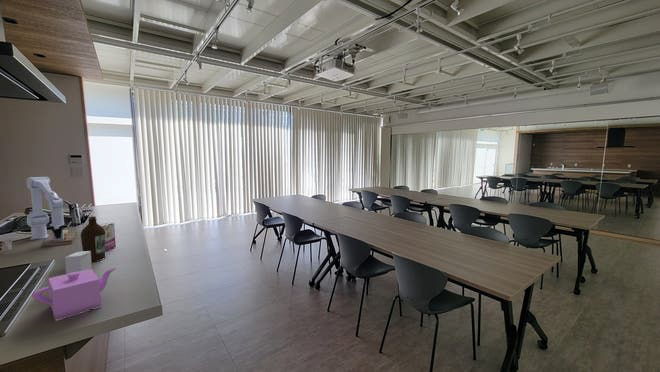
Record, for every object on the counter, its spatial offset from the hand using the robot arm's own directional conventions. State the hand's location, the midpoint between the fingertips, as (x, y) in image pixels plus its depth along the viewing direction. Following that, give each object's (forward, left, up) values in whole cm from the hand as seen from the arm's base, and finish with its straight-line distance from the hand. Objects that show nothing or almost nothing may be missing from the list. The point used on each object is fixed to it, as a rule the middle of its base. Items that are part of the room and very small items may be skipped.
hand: (59, 237), depth 183 cm
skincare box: (+86, +18, -4) cm, 88 cm away
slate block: (0, 0, -2) cm, 2 cm away
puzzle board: (-6, 0, -4) cm, 7 cm away
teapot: (+110, +20, -4) cm, 111 cm away
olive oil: (+50, +21, -4) cm, 54 cm away
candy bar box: (+33, +25, -4) cm, 42 cm away
